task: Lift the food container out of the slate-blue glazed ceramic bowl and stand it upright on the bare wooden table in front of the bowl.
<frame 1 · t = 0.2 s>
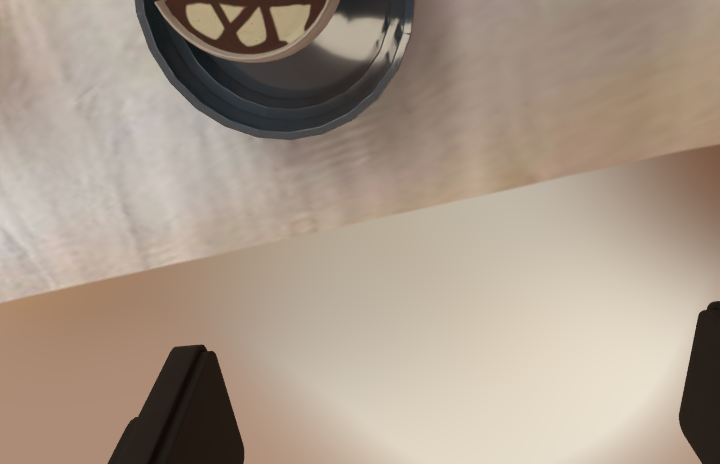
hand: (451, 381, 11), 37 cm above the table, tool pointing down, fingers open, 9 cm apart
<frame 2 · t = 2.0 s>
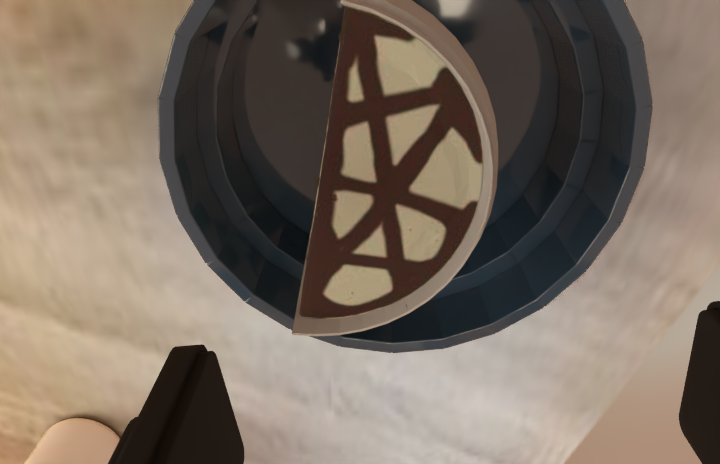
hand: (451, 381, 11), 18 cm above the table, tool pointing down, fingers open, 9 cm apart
food container: (394, 116, 26), resting on bowl
bowl: (394, 115, 27), on the table
drinking glass: (89, 439, 37), on the table
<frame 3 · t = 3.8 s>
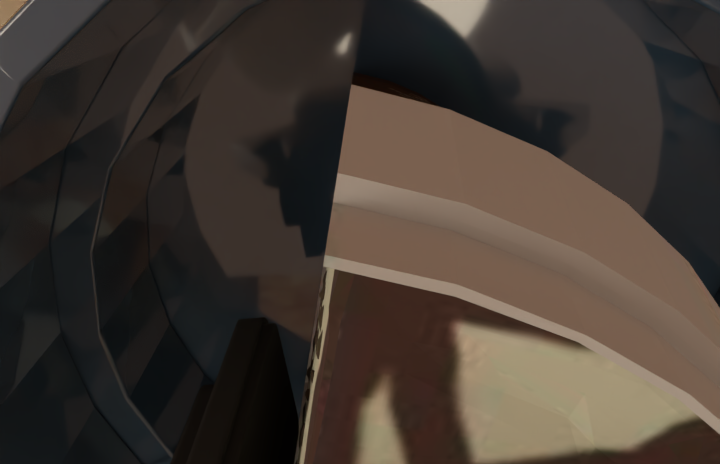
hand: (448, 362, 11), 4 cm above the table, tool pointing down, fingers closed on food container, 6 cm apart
food container: (438, 263, 15), resting on bowl, touching gripper
bowl: (434, 259, 15), on the table
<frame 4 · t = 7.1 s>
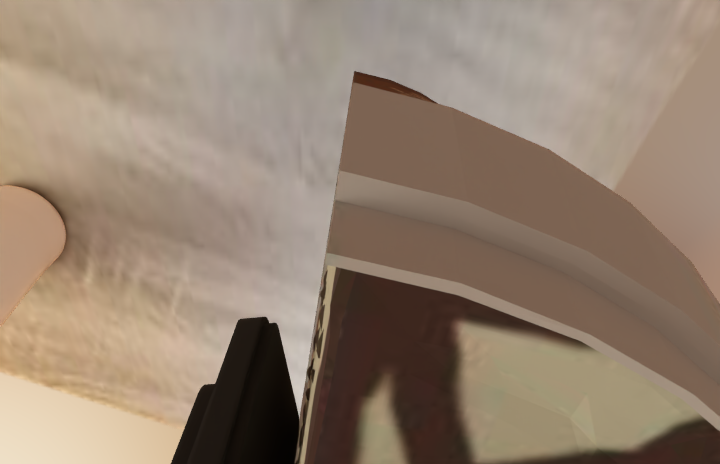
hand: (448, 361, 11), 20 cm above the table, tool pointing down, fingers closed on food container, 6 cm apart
food container: (439, 263, 15), point 16 cm above the table, touching gripper
drinking glass: (26, 221, 33), on the table
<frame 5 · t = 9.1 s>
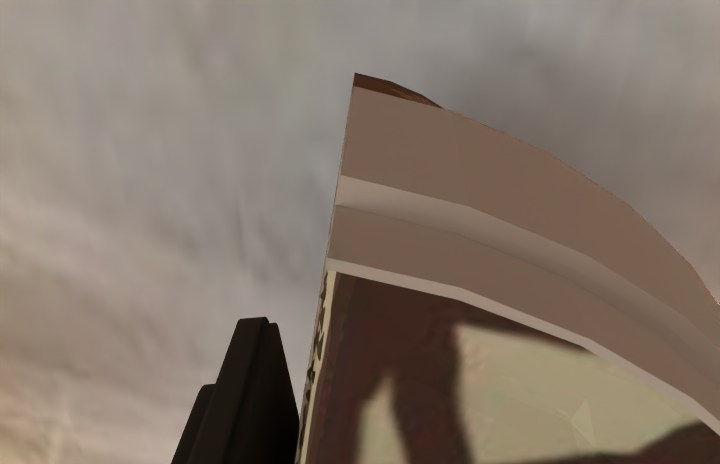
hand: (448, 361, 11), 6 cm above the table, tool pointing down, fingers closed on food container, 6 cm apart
food container: (439, 264, 15), point 2 cm above the table, touching gripper
when the fingers open (4 cm above the table, at t = 10.4 s): food container stays where it is, on the table.
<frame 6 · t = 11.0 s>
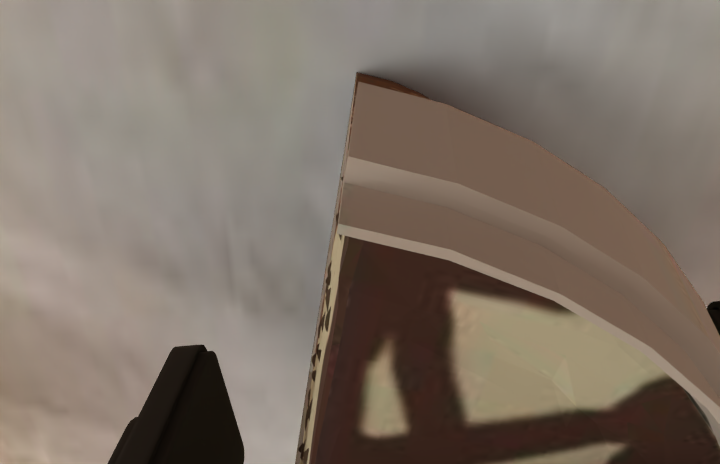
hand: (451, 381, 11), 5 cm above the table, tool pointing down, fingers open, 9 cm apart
food container: (438, 256, 16), on the table
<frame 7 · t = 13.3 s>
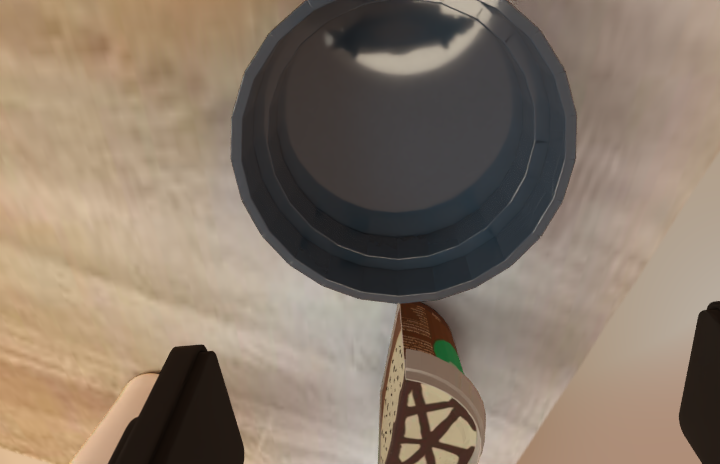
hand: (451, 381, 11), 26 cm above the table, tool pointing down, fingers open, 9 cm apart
food container: (428, 350, 43), on the table
bowl: (398, 126, 35), on the table
drinking glass: (159, 392, 46), on the table
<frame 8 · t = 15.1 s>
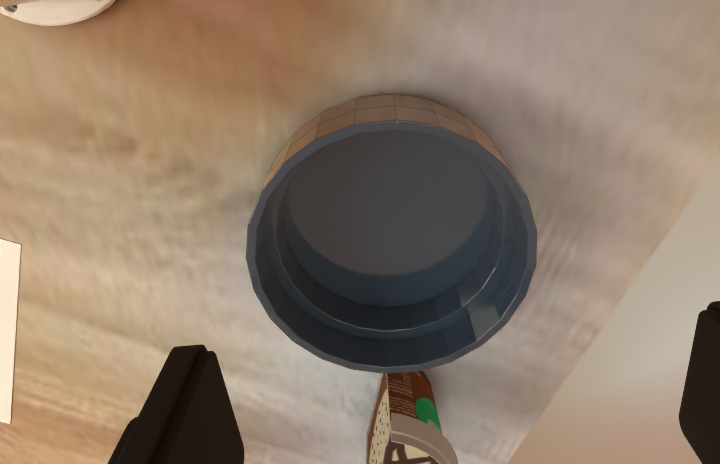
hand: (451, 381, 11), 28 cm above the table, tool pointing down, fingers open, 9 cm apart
food container: (410, 398, 49), on the table
bowl: (388, 217, 41), on the table
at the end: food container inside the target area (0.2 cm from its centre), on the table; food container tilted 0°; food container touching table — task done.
